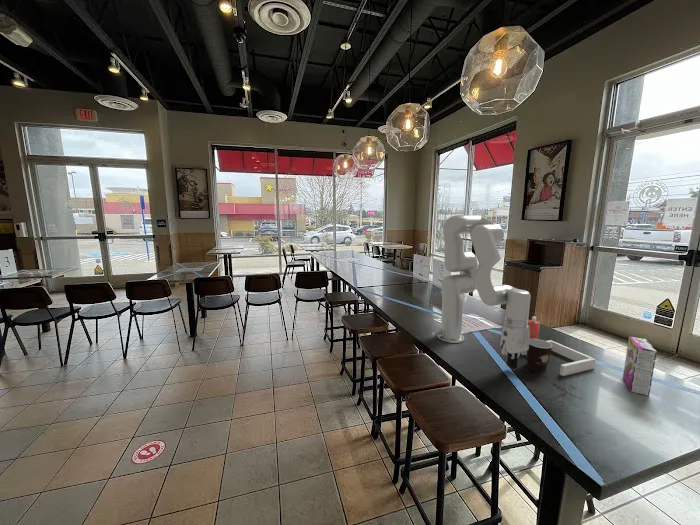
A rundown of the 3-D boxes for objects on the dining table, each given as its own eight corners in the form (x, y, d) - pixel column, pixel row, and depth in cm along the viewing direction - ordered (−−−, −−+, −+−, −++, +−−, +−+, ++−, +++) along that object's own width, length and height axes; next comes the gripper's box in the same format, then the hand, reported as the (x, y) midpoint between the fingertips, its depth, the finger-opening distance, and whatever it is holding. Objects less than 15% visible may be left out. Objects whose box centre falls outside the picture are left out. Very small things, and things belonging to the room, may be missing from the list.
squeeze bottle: (532, 344, 136) (535, 319, 134) (523, 340, 141) (525, 315, 139) (540, 343, 138) (543, 318, 135) (530, 339, 142) (533, 314, 140)
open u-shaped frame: (562, 376, 110) (564, 366, 109) (520, 354, 127) (521, 345, 126) (594, 368, 115) (595, 359, 114) (549, 348, 132) (550, 340, 132)
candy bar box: (621, 377, 109) (628, 335, 107) (639, 381, 107) (647, 338, 104) (629, 392, 100) (637, 347, 97) (649, 397, 97) (658, 351, 95)
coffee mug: (545, 363, 119) (548, 340, 117) (552, 374, 111) (555, 349, 109) (513, 358, 123) (516, 336, 121) (518, 368, 115) (520, 345, 113)
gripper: (509, 328, 104) (504, 375, 107) (540, 323, 109) (534, 368, 112) (492, 320, 111) (489, 365, 114) (522, 316, 116) (518, 359, 119)
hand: (511, 366), depth 113 cm, fingers closed
